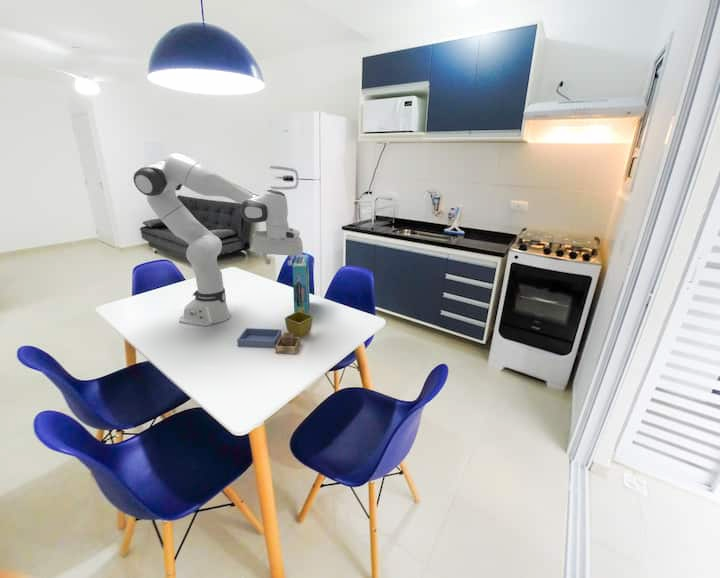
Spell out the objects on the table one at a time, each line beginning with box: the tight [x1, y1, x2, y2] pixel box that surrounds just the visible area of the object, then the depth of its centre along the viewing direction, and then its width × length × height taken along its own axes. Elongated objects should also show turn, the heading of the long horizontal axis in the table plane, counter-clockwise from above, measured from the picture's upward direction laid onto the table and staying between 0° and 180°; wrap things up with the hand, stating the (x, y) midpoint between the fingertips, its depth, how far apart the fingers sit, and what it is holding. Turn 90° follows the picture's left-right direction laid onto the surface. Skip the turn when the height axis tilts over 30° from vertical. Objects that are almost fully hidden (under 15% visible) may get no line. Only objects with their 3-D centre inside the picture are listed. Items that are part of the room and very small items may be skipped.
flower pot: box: [284, 311, 314, 339], centre depth 143 cm, size 9×9×9 cm
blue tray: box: [236, 327, 283, 349], centre depth 137 cm, size 15×10×4 cm
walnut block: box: [282, 332, 295, 347], centre depth 132 cm, size 4×4×6 cm
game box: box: [292, 254, 310, 315], centre depth 164 cm, size 20×6×27 cm, turn 5°
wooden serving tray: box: [274, 335, 302, 355], centre depth 132 cm, size 8×8×4 cm
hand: (278, 264), depth 139 cm, fingers open, 8 cm apart
